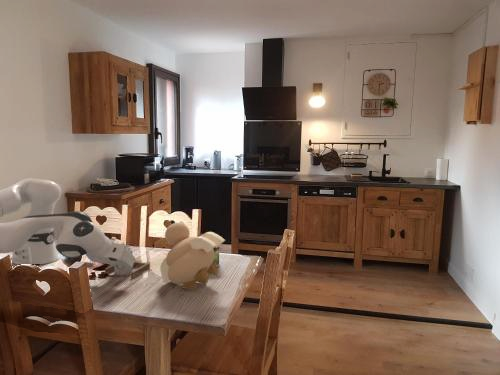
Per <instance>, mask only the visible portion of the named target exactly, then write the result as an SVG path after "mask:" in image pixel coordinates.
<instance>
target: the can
mask: <svg viewBox="0 0 500 375" xmlns="http://www.w3.org/2000/svg"><path fill="white" fill-rule="evenodd" d="M125 246H126V249H127V250H128V251H130V252H131V254H132V255H133V249H132V247H131V246H130V245H129V244H126V245H125ZM133 268H134V267H133V266H132V267H128V266H122V267H121V268H116V267H115V271H114V274H115V275H116V276H119V277H120V276H121V277H123V276H128V275H131V272H133V271H134V269H133Z"/></svg>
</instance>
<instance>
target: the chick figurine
mask: <svg viewBox="0 0 500 375" xmlns="http://www.w3.org/2000/svg"><path fill="white" fill-rule="evenodd" d="M202 234H203V233H202ZM217 234H218V233H215V232H213V231H207V232H205V234H203V235H201V236H199V237H198V236H190V229H189V227H188V226H187V225H186V224H185V222H184V221H182V220H181V221H179V222H174V223H171V224H170V225H169V226H168V227H167V229H166V230H165V233H164V239H165V241H166V242H167V244H168V245H170V246H172V247H171V248H170V250H168V253H167V255H166V257H165V258H164V259H163V260H162V262H161V263H160V265H159V266H160V268H159V269H160V274H161V279H162V281H163V284H166V283H167V282H169V281H170V282H171V283H173V284H175V285H182V286H181V288H183V289H186V290H189V291H192V292H196V293H197V283H200V284H202V285H203V284H204V285H207V283H208V274H209V275H212V276H215V277H217V276H218V266H217V261H216V262H214V263H213V261H214V257H215V253H214V250H213V248H214V247H216V248H217V247H219V248H220V246H222V244H223V243H224V242H225V241H226V239H224V238H223V237H222V236H219V235H220V234H218V235H217ZM212 263H213V264H212Z"/></svg>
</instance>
